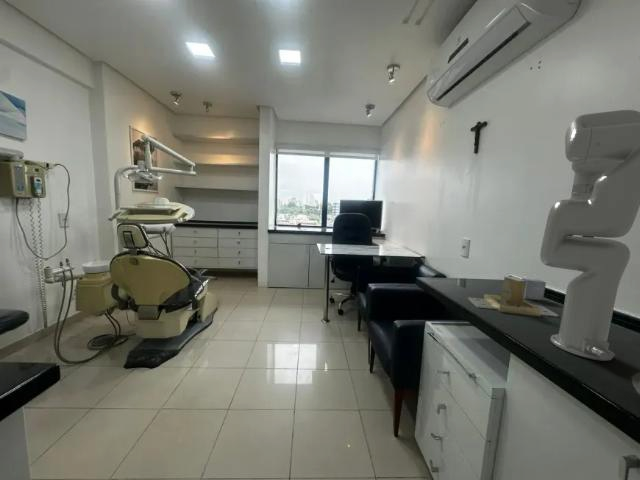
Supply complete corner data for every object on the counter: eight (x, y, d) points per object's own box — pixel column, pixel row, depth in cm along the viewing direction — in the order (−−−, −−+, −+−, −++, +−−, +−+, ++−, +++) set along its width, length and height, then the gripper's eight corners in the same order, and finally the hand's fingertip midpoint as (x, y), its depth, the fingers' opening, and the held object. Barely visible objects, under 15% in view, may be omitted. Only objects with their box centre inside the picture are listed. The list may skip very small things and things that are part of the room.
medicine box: (536, 297, 123) (539, 279, 122) (543, 300, 119) (546, 281, 118) (518, 295, 124) (521, 277, 123) (524, 299, 120) (527, 280, 119)
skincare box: (498, 305, 109) (503, 276, 107) (506, 304, 110) (511, 276, 109) (514, 311, 103) (519, 280, 101) (522, 310, 104) (527, 280, 103)
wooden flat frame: (561, 318, 98) (562, 312, 97) (479, 309, 103) (479, 302, 102) (538, 305, 111) (539, 299, 111) (466, 297, 116) (467, 292, 116)
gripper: (619, 189, 89) (609, 240, 91) (579, 193, 106) (571, 235, 108) (593, 188, 90) (583, 238, 92) (557, 192, 107) (550, 234, 109)
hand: (577, 236), depth 100 cm, fingers open, 9 cm apart
